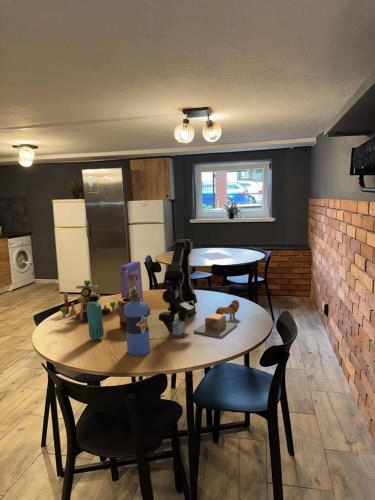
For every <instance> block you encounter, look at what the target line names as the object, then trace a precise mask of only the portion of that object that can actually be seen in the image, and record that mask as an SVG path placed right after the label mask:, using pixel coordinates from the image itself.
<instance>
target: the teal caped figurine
mask: <svg viewBox="0 0 375 500" xmlns="http://www.w3.org/2000/svg"><path fill="white" fill-rule="evenodd" d="M97 300H98V296H97V295H91V296H89V297H88V301H89V302H92V303H89V304H88V305H87V315H88V322H87V326H88V327H87V328H88V336H89V339H90V340H99V339H101V338H103V337H104V335H105V329H104V322H103V321H104V320H103V314H102V309H103V308H102V304H101V303H100V302H99V300H98V302H94V301H97Z"/></svg>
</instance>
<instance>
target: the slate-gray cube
mask: <svg viewBox="0 0 375 500" xmlns="http://www.w3.org/2000/svg"><path fill="white" fill-rule="evenodd" d="M174 320H175V321H174V322H173V333H172V334H170V332H169V331H168V332H169V334H170V335H173V334H174V336H178V335H179V336H180V334H181V335H182V334H184V333H185V332H186V329H185V327H186V325H185V324H184V321H180V320H178V319H174Z"/></svg>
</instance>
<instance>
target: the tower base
mask: <svg viewBox="0 0 375 500" xmlns="http://www.w3.org/2000/svg"><path fill="white" fill-rule="evenodd" d="M237 327H238V323H234V322H228V321H227V314H223V315H221V314H216V313H213V312H212V313H211V314H209V315H207V316H206V317H204V324H202V325H200V326H199V327H197V328H196V329H194V330H193V333H194V334H197V335H203V336H208V337H212V338H213V337H214V338H219V339H223V338H224V337H226V336H227V335H228V334H229V333H231V331H233V330H234V329H235V328H237Z"/></svg>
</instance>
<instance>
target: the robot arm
mask: <svg viewBox="0 0 375 500" xmlns="http://www.w3.org/2000/svg"><path fill="white" fill-rule="evenodd" d="M193 247H194V245H193V240H192V241H191V239H189V238H188V239H177V240H176V241H174V242H173V248H174V249H173V252H172V253H173V254H172V257H171V258H172V259H171V263H169V265H167V267H166V270H165V272H164V279H163V286H164V287H166V290H164V291H163V294H162V300H163V301H164V302H165V303H167V304H168V305H169V307H168V308H167V311H163V312H161V313H160V314H159V315H158V320H159V321H161V322H163V324H164V326H165V327H166V329H167V331H168V332H170V335H173V334H172V333H173V322H174V321H175V320H176V319H175V318H176V315H178V319H179V321H184V325H185V323H186V320H187V317H192V316H194V315H195V314H197V311H196V304H198V298H197V294H196V292H195V290H194V289H195V288H194V286H193V285H192V284H191V272H190V271H191V269H190V255H191V253H192V250H193Z"/></svg>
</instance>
